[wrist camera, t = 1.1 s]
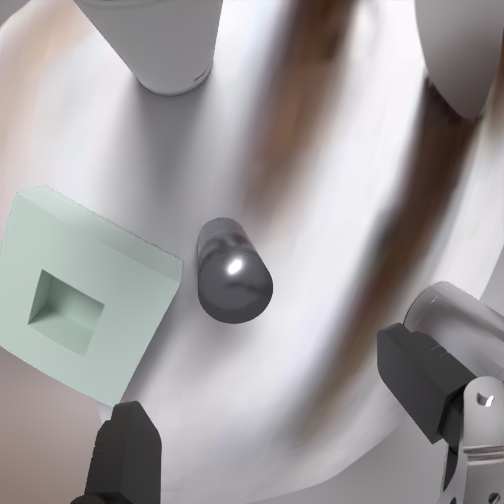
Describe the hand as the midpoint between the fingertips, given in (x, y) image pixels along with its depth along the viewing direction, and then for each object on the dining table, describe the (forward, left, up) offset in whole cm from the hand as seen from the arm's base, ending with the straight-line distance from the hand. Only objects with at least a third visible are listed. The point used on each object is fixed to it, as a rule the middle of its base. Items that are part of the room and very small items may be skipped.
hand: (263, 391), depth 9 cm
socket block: (+9, +10, -18) cm, 22 cm away
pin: (0, 0, -18) cm, 18 cm away
